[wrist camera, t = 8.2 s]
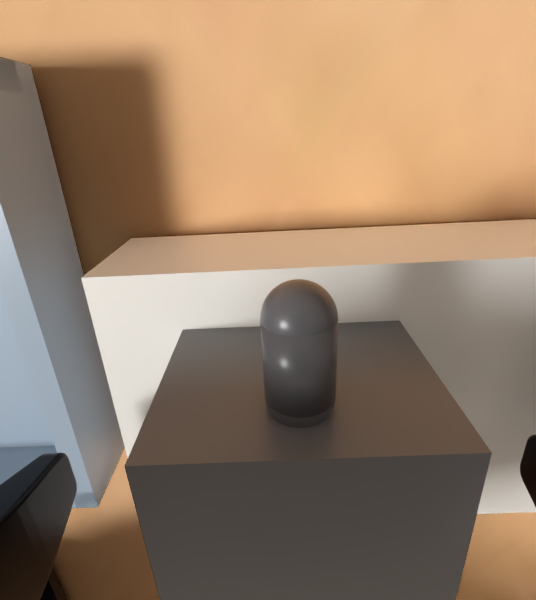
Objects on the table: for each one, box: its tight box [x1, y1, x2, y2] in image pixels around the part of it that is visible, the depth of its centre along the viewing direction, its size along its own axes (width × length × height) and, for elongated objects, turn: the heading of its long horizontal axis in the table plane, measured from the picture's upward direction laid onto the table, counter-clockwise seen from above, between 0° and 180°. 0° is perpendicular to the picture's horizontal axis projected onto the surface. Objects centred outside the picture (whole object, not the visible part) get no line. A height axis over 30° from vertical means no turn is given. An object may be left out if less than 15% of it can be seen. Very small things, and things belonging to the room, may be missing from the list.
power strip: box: [81, 219, 536, 514], centre depth 8 cm, size 9×16×6 cm, turn 93°
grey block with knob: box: [125, 279, 492, 600], centre depth 8 cm, size 6×4×6 cm
